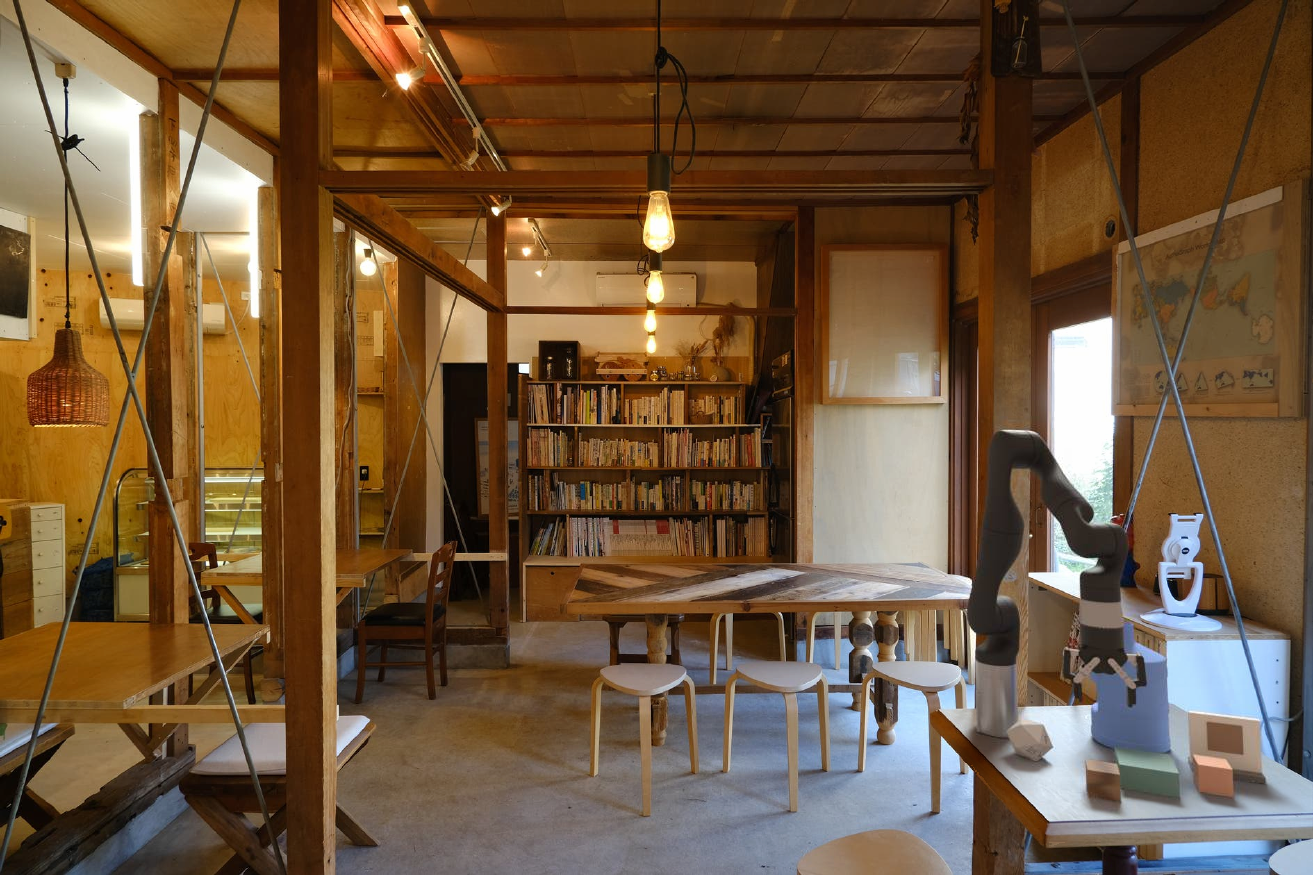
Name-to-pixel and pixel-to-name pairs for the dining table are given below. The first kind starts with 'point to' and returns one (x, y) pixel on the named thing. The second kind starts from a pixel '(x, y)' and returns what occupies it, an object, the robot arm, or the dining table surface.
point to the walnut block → (1103, 780)
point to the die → (1029, 739)
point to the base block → (1147, 771)
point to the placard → (1228, 742)
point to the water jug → (1142, 721)
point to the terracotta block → (1213, 775)
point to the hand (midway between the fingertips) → (1104, 703)
